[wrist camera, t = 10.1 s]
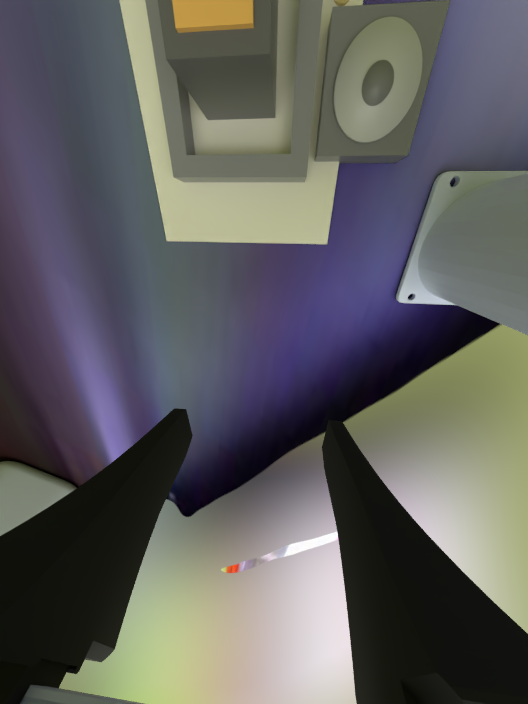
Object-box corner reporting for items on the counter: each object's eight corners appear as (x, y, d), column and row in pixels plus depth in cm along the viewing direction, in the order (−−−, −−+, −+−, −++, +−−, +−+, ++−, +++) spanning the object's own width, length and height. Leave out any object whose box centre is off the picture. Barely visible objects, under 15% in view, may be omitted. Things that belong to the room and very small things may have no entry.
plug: (278, -31, 10) (274, -264, 5) (275, 118, 12) (269, 49, 7) (195, -24, 10) (119, -240, 5) (207, 120, 12) (163, 55, 8)
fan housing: (429, 29, 10) (459, -12, 9) (395, 163, 13) (413, 152, 11) (327, 34, 11) (335, -5, 9) (313, 163, 13) (318, 152, 11)
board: (401, -274, 7) (436, -423, 6) (325, 244, 15) (331, 245, 14) (80, -227, 8) (27, -345, 6) (169, 240, 16) (156, 241, 14)
